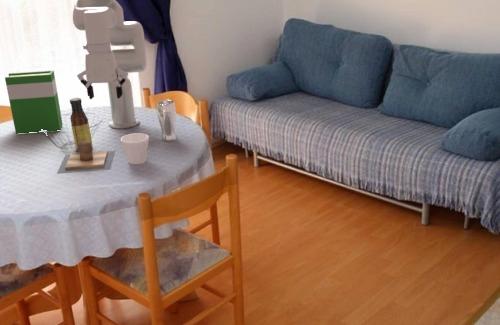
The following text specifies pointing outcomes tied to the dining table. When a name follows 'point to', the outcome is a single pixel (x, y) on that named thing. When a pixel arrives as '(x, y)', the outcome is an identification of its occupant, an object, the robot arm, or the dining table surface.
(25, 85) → the hardback book
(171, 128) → the beer glass
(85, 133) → the sauce bottle
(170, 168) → the dining table surface
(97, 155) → the oak lid
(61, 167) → the slate mat
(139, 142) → the cup
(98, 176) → the dining table surface
